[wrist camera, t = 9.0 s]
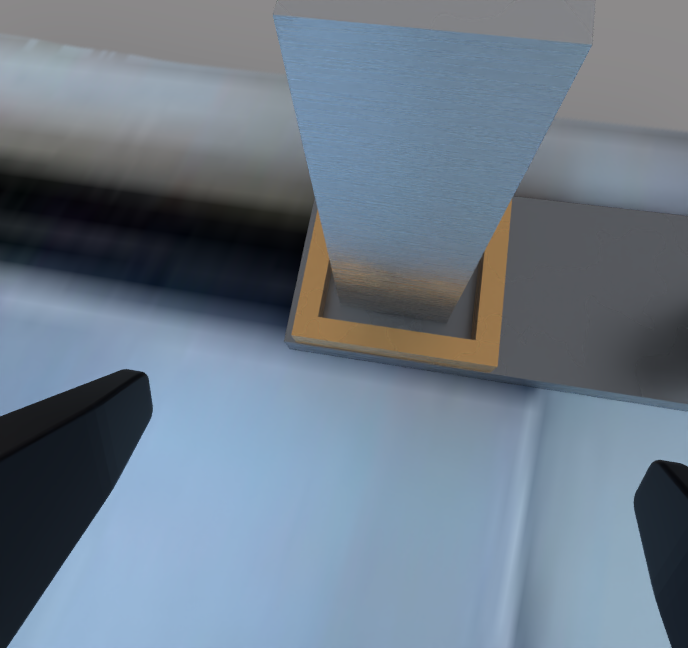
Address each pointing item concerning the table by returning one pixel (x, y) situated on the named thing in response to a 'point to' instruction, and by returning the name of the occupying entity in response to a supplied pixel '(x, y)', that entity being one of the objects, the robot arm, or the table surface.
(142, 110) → the table surface
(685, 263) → the rail
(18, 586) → the robot arm
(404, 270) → the gray block
